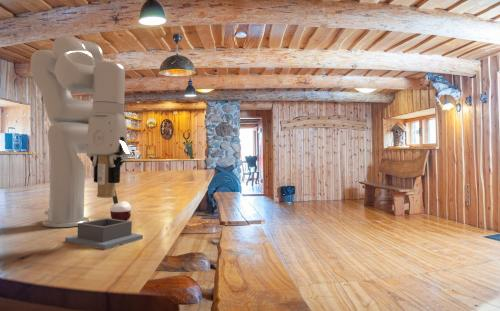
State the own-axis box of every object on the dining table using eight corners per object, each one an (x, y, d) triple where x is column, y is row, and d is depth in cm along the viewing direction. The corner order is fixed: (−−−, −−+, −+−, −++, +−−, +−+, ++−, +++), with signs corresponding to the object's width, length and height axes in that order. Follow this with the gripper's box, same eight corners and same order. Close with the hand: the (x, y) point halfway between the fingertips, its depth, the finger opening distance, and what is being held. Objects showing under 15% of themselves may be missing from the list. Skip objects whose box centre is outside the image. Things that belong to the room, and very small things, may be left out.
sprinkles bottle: (117, 197, 85) (118, 144, 85) (98, 198, 83) (99, 143, 83) (113, 195, 89) (114, 145, 89) (95, 196, 86) (96, 144, 87)
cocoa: (133, 223, 109) (136, 187, 109) (113, 225, 105) (116, 187, 105) (124, 217, 117) (127, 183, 117) (105, 218, 113) (108, 183, 113)
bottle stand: (65, 241, 83) (65, 223, 84) (104, 232, 94) (105, 216, 94) (105, 249, 77) (105, 230, 77) (142, 238, 88) (143, 221, 88)
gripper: (73, 110, 86) (71, 181, 86) (121, 107, 79) (119, 185, 79) (97, 114, 93) (96, 180, 93) (144, 112, 86) (142, 183, 86)
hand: (106, 181), depth 86 cm, fingers closed on sprinkles bottle, 4 cm apart
